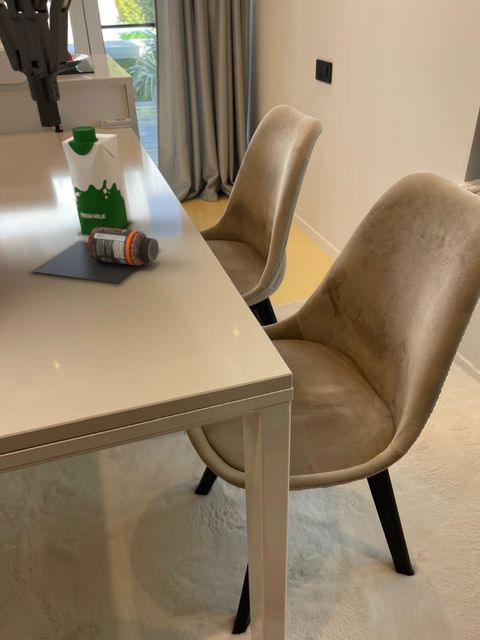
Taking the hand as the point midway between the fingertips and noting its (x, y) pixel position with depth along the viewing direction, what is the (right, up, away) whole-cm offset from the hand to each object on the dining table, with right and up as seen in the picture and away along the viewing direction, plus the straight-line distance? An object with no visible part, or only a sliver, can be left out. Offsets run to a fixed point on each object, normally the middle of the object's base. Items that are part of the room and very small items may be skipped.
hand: (51, 125), depth 82 cm
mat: (+2, -18, +17) cm, 25 cm away
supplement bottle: (+2, -14, +16) cm, 22 cm away
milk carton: (-1, -9, +31) cm, 33 cm away
